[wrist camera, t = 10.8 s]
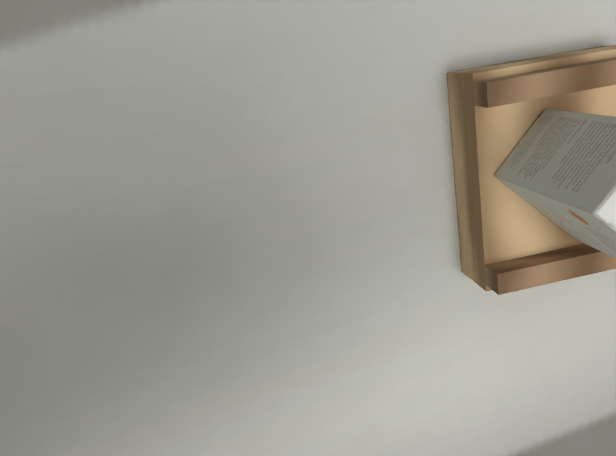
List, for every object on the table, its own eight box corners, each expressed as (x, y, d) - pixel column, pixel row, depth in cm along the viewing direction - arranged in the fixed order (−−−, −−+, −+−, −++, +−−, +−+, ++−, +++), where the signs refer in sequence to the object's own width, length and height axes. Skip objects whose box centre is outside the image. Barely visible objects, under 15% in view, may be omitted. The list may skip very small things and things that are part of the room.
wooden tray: (461, 271, 43) (498, 301, 37) (446, 73, 38) (486, 74, 33) (603, 240, 44) (658, 265, 39) (604, 46, 40) (667, 42, 34)
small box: (621, 173, 38) (765, 211, 28) (569, 238, 39) (692, 296, 29) (544, 104, 36) (672, 118, 26) (490, 174, 37) (594, 214, 27)
